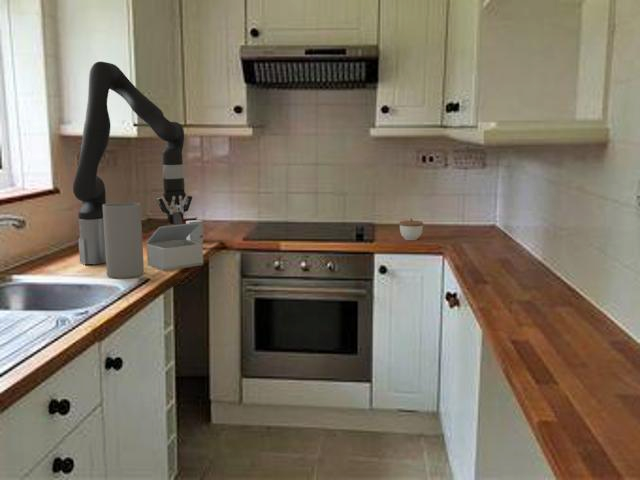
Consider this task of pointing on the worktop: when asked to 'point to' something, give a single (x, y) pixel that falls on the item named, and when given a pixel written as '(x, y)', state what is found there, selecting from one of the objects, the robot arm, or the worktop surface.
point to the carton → (174, 254)
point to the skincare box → (196, 232)
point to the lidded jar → (411, 229)
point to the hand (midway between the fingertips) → (175, 223)
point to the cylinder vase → (123, 239)
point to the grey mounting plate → (173, 230)
